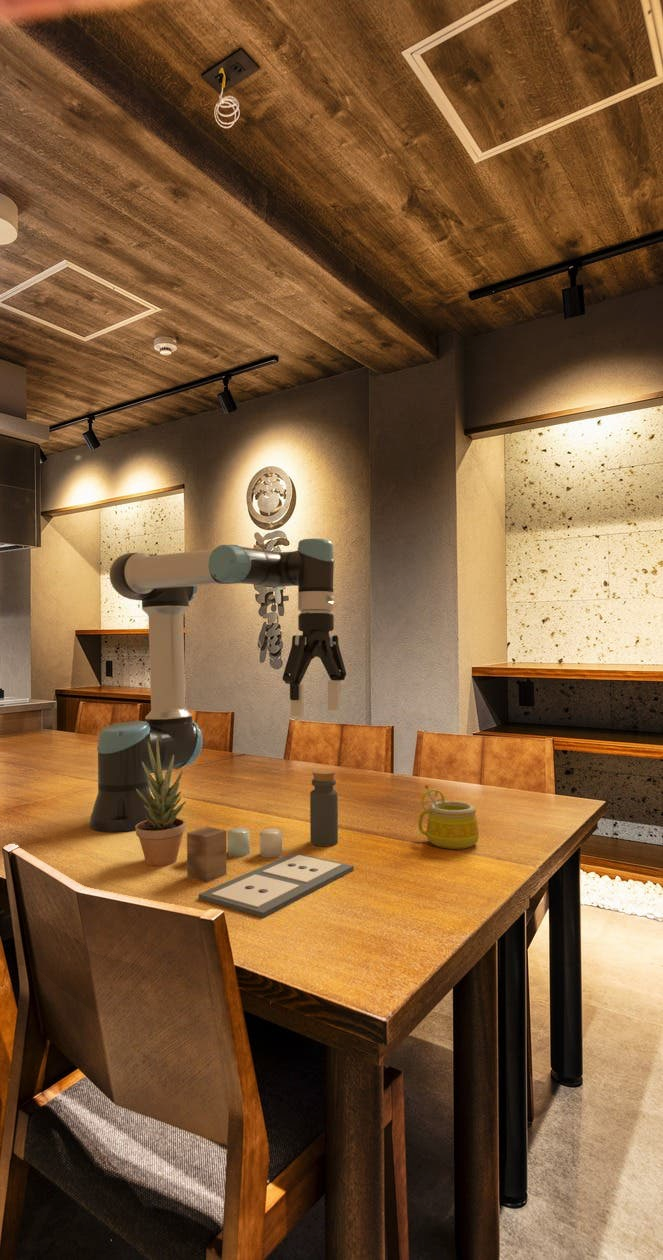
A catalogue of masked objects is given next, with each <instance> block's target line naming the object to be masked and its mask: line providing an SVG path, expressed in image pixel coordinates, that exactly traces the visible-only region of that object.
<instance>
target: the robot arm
mask: <svg viewBox="0 0 663 1260" xmlns="http://www.w3.org/2000/svg"><path fill="white" fill-rule="evenodd" d="M297 546H298V547H297V550H295V551H284V552H283V551H272V550H265V549H258V548H252V547H251V548H250V547H245V546H240V545H238V544H220V545H217V547H215V548H213V549H211V548H210V549H204V550H194V551H185V552H184V551H183V552H175V553H166V554H150V553H149V554H148V553H146V552H128V553H124V554H122V555H120V556H118V557H117V558H116V559H115V560H114V561H113V562H112V564H111V567H110V568H109V580H110V581H109V582H110V583H111V584H110V585H111V586H112V588H113V589H114V590H115V591H116V592H117V593H118V594H119V595H120V596H122V597H123V598H125V599H128V600H134V601H141V610H142V611H143V612H144V613H145V614H147V617H148V639H149V641H148V645H149V678H150V679H149V680H150V681H149V683H150V709H151V710H150V711H149V713H148V714H147V715H146V716H145V717H144V719H145V720H130V721H123V722H122V721H121V722H117V723H113V724H111V725H108V726H106V727H104V728H102V729H101V730H100V732H99V733H98V737H97V738H98V739H97V747H96V751H97V789H98V790H97V795H96V798H95V801H94V805H93V808H92V812H91V813H90V818H89V820H90V821H89V822H90V823H89V825H90V828H92V829H93V830H95V831H101V832H110V833H111V832H113V833H114V832H127V831H128V832H129V831H136V828H135V826H136V825H137V824H138V823H141V822H143V821H147V820H148V819H147V817H146V816H148V817H149V818H150V819H152V818H151V817H150V815H149V812H148V811H147V809H146V808H145V807H144V805H145V806H147V807H148V808H149V806H148V805H147V803H146V802H145V801H144V800H143V799H142V798H141V797H140V795H139V794H138V793H137V791H136V788H137V789H138V790H139V791H140V792H141V793H142V792H143V793H145V794H146V795H148V796H149V797H151V796H150V794H152V792H151V790H150V787H149V784H148V780H149V779H148V777H147V775H146V773H145V770H144V767H143V765H142V762H143V763H144V765H145V766H146V768H147V769H148V771H149V773H150V774H151V775H152V774H154V772H153V768H152V765H151V760H150V756H149V750H148V742H149V744H150V747H151V751H152V753H153V756H154V759H155V762H156V766H157V752H156V749H157V748H156V741H157V740H156V738H157V736H158V745H159V754H160V762H161V767H162V772H164V771H165V772H167V770H168V767H169V764H170V761H171V759H172V757H173V754H174V762H173V768H172V770H179V769H181V768H184V767H188V766H190V765H192V764H194V762H195V761H196V759H198V757H199V756H200V754H201V752H202V748H203V740H204V739H203V734H202V730H201V729H200V725H198V723H197V722H195V721H193V714H192V713H191V712H190V711H189V710H188V709H187V706H186V703H187V702H186V675H185V674H186V673H185V670H186V669H185V668H186V666H185V639H184V637H185V636H184V615H185V613H186V612H187V611H188V610H189V609H190V607H189V606H190V604H189V603H190V602H191V601H192V600H193V599H194V598H195V596H196V593H198V588H199V586H213V585H231V584H235V585H236V584H242V585H243V584H244V585H256V586H259V587H261V588H268V589H269V588H271V589H272V588H273V589H276V588H280V587H293V586H295V587H297V588H298V590H297V591H298V593H297V610H298V611H299V612H300V613H299V614H298V615H297V616H298V617H297V618H298V624H297V625H298V631H300V632H302V634H300V635H299V634H298V635H297V634H296V635H294V634H293V635H292V637H291V647H290V651H289V654H288V658H287V661H286V664H285V668H284V671H283V675H282V681H283V682H284V683H285V684H286V685H289V700H290V717H299V718H302V717H304V703H305V702H304V695H305V694H304V691H305V690H304V686H305V685H304V684H303V683H301V682H302V680H303V678H304V677H305V675H306V672H307V670H308V668H309V666H310V664H311V662H312V660H313V659H314V658H319V659H320V661H321V663H322V664H323V667H324V669H325V671H326V673H327V675H328V678H329V680H327V710H328V711H340V710H341V681H344V680H345V679H346V677H347V671H346V667H345V663H344V660H343V657H342V652H341V649H340V644H339V636H338V635H332V634H331V635H330V632H332V631H334V628H335V627H334V626H335V624H334V623H335V622H334V621H335V619H334V618H335V617H334V616H335V615H334V614H333V613H331V612H333V611H334V599H335V598H334V572H335V571H334V569H335V558H334V547H333V546H334V545H333V542H332V541H330V540H329V539H327V538H326V539H325V538H305V539H304V538H303V539H301V540H299V541H298V545H297ZM147 800H148V799H147ZM148 801H149V800H148ZM149 803H150V804H151V802H150V801H149Z"/></svg>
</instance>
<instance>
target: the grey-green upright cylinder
mask: <svg viewBox="0 0 663 1260" xmlns="http://www.w3.org/2000/svg"><path fill="white" fill-rule="evenodd" d="M250 836H251V835H250V829H249V828H246V827H233V828H230V829H228V830H227V855H228V856H229V857H234V858H235V857H237V858H238V857H240V858H241V857H245V856H248V855H250V852H251V851H250V850H251V849H250V848H251V847H250V838H251V837H250Z"/></svg>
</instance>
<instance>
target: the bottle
mask: <svg viewBox="0 0 663 1260" xmlns="http://www.w3.org/2000/svg"><path fill="white" fill-rule="evenodd" d="M335 773H336V772H335V770H332V769H315V770H312V776H313V779H312V780H311V785H312V786H313V787H314V789H312V790H311V791H310V793H309V794H310V795H309V799H310V800H309V801H310V802H309V803H310V804H309V808H310V810H309V818H310V820H309V823H310V844H311V845H314V846H317V847H330V846H334V845H337V844H338V842H339V818H338V817H339V813H338V810H339V808H338V807H339V804H338V803H339V802H338V799H339V798H338V797H339V796H338V791H337V790H336V789H334V786H336V785H337V784H336V783H337V781H336V779H335Z"/></svg>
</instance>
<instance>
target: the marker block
mask: <svg viewBox="0 0 663 1260" xmlns="http://www.w3.org/2000/svg"><path fill="white" fill-rule="evenodd" d="M186 873H187V875H186V876H187V878H189V879H194V880H197V881H201V882H205V883H209V882H211V881H214V880H216V879H218V878H221V877H223V876H226V875H227V874H228V872H227V830H226V829H221V828H215V827H211V826H205V827H201V828H198V829H195V830H192V831H189V832H187V833H186Z"/></svg>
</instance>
